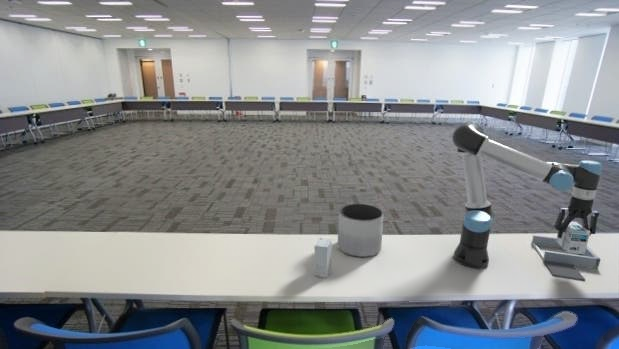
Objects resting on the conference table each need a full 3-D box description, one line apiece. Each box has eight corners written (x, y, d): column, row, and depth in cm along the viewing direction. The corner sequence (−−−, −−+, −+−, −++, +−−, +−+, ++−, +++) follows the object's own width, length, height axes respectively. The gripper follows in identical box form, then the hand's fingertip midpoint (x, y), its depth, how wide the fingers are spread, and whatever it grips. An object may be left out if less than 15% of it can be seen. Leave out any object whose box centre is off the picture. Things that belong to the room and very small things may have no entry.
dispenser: (543, 261, 157) (546, 251, 156) (531, 243, 174) (533, 234, 172) (597, 268, 151) (600, 259, 149) (579, 249, 168) (581, 240, 166)
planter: (373, 236, 180) (375, 202, 174) (387, 257, 159) (390, 219, 153) (333, 238, 177) (334, 204, 171) (343, 260, 156) (344, 222, 150)
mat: (552, 275, 145) (553, 274, 145) (543, 261, 156) (543, 260, 156) (585, 280, 142) (585, 279, 142) (572, 266, 153) (573, 265, 153)
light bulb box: (585, 254, 140) (591, 231, 137) (567, 252, 141) (573, 230, 138) (571, 242, 150) (577, 221, 147) (555, 241, 151) (560, 219, 148)
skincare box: (326, 278, 142) (327, 248, 138) (313, 276, 144) (314, 245, 139) (331, 268, 150) (332, 238, 145) (318, 266, 151) (319, 236, 147)
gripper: (558, 197, 138) (547, 246, 145) (616, 203, 133) (601, 253, 139) (551, 191, 145) (541, 238, 152) (606, 196, 140) (592, 245, 146)
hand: (570, 245), depth 145 cm, fingers closed on light bulb box, 7 cm apart
